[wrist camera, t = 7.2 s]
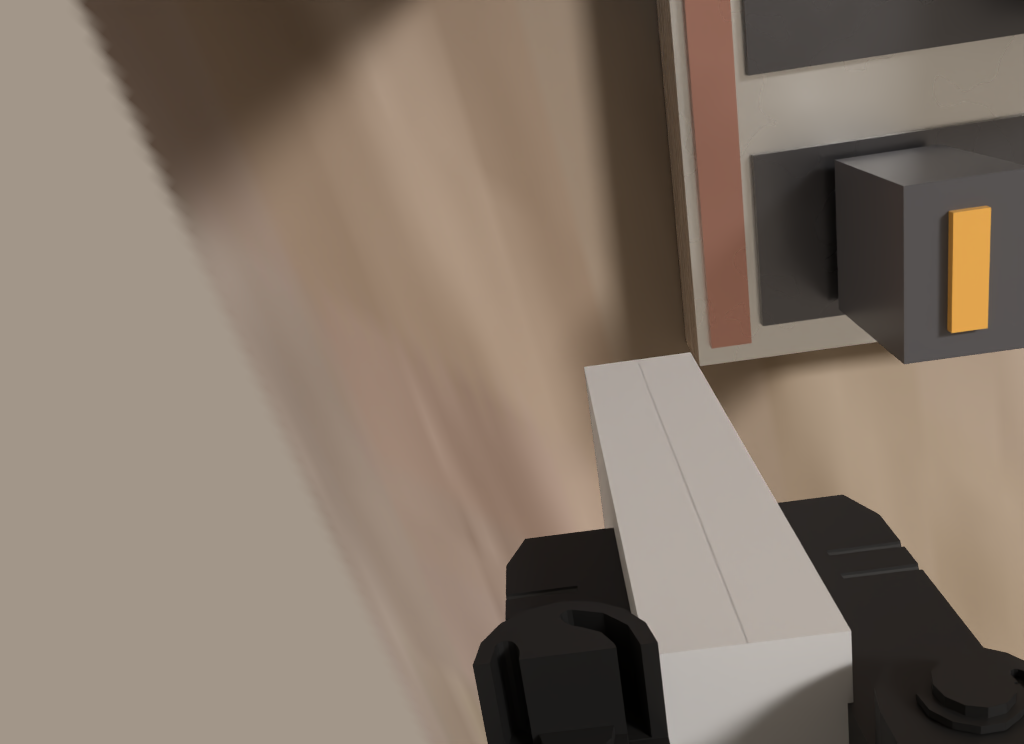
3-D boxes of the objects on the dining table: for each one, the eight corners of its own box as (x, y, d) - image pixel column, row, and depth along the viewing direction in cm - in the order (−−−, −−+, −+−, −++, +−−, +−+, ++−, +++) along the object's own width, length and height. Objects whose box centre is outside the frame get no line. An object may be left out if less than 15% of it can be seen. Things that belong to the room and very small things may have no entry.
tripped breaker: (834, 160, 21) (907, 187, 17) (940, 144, 21) (1038, 168, 17) (838, 309, 22) (908, 367, 19) (939, 295, 22) (1030, 350, 18)
